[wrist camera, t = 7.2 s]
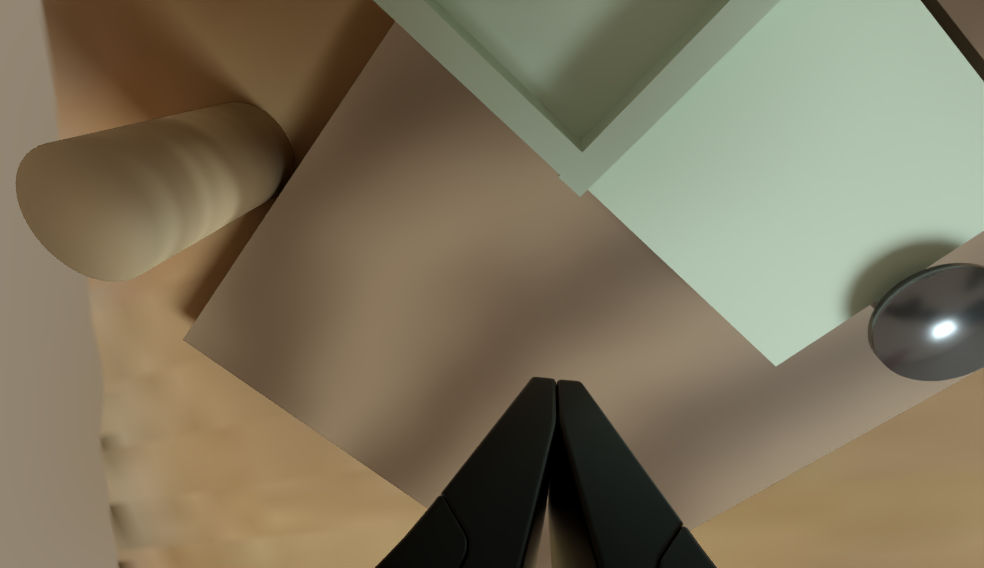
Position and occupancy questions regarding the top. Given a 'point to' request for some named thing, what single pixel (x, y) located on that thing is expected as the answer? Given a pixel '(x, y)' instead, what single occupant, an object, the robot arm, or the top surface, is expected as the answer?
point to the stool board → (510, 310)
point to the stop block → (962, 27)
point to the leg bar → (741, 137)
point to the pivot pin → (932, 323)
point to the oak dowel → (150, 186)
